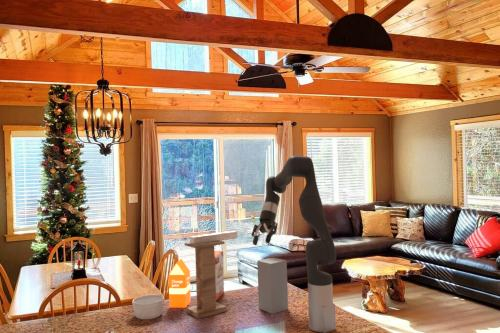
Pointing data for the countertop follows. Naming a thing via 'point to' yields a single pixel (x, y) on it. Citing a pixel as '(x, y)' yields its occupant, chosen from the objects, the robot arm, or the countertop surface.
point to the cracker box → (219, 273)
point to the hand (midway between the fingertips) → (260, 243)
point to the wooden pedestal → (205, 281)
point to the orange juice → (179, 285)
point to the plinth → (272, 285)
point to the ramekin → (148, 306)
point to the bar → (213, 237)
